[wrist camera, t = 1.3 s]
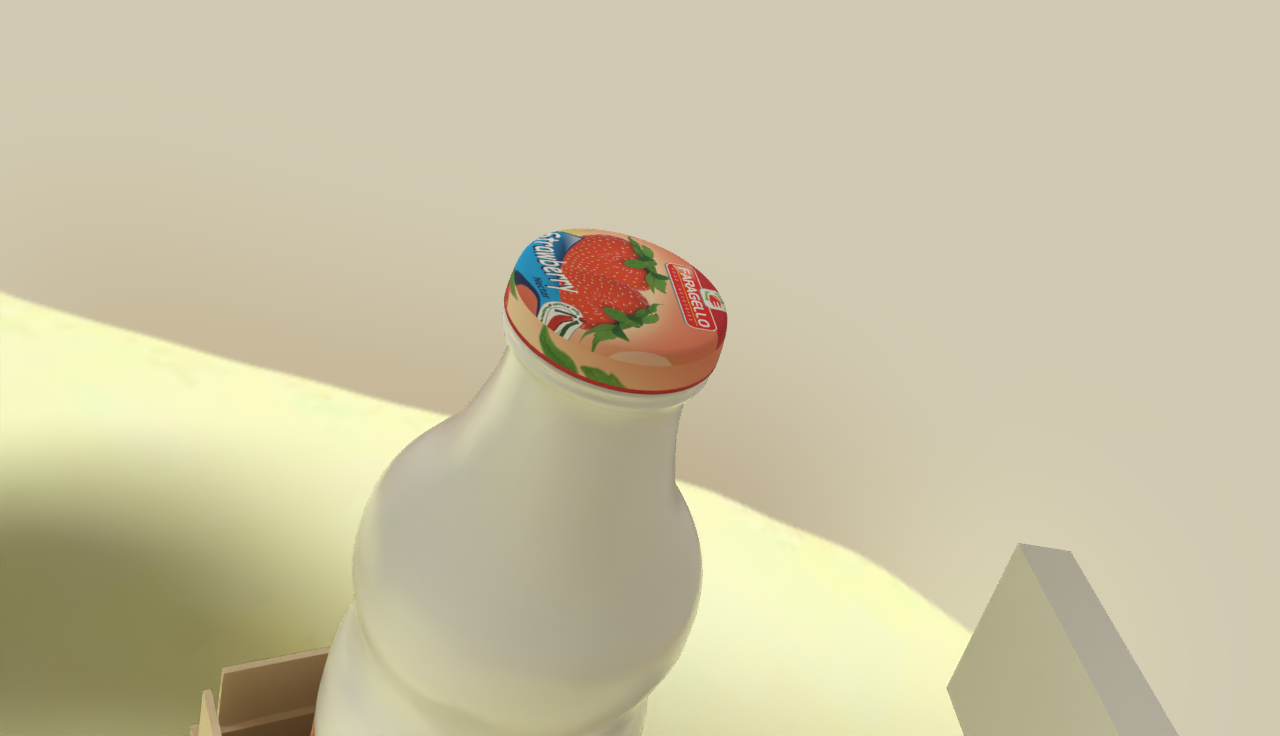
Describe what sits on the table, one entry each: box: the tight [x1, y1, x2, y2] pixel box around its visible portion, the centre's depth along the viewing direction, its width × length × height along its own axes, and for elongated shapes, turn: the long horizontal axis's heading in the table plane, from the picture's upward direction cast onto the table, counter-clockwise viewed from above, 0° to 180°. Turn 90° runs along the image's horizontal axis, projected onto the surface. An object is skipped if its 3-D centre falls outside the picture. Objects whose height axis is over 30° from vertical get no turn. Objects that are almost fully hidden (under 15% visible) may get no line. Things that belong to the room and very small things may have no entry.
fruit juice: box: [310, 229, 727, 736], centre depth 32 cm, size 9×9×28 cm
